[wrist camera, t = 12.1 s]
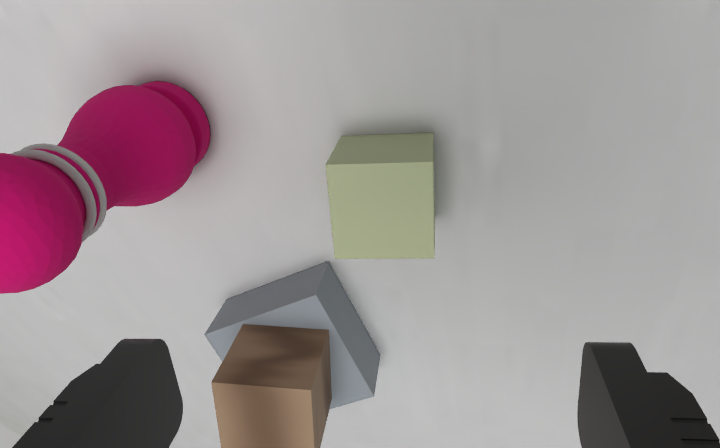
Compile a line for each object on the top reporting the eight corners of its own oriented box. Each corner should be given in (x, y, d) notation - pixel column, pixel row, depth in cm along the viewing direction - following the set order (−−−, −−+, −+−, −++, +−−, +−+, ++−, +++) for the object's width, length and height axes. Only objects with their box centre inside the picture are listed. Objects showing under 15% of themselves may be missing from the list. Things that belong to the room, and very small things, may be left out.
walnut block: (329, 329, 38) (310, 390, 33) (331, 398, 41) (315, 465, 35) (242, 324, 39) (211, 382, 33) (250, 392, 41) (222, 456, 36)
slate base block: (329, 258, 42) (315, 294, 37) (380, 352, 45) (373, 396, 40) (228, 296, 44) (204, 334, 40) (283, 382, 47) (266, 427, 43)
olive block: (433, 132, 36) (432, 161, 31) (434, 217, 39) (434, 258, 34) (341, 135, 37) (325, 164, 32) (348, 218, 40) (334, 258, 34)
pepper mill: (141, 186, 41) (-94, 364, 23) (98, 87, 38) (-210, 200, 20) (233, 165, 39) (58, 338, 21) (194, 60, 36) (-45, 157, 18)
